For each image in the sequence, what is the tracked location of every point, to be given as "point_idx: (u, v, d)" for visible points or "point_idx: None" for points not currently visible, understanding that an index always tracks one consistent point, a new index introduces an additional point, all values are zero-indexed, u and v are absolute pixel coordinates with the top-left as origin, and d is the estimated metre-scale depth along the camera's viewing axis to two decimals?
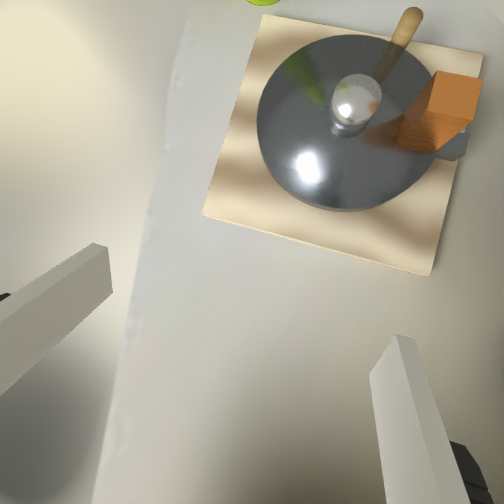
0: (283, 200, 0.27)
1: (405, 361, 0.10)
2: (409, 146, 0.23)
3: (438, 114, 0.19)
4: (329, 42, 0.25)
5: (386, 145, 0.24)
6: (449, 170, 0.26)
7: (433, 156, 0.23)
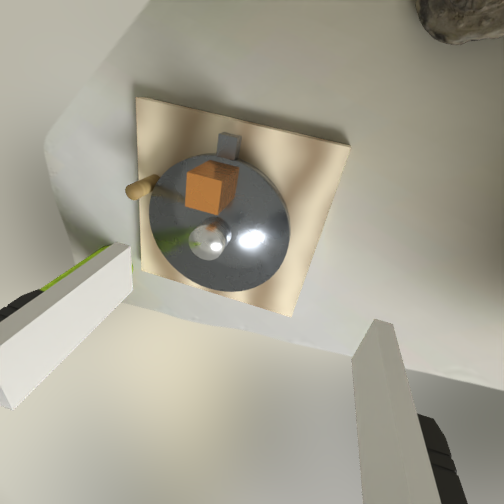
0: None
1: (381, 342, 0.11)
2: (234, 189, 0.27)
3: (219, 205, 0.23)
4: (159, 241, 0.33)
5: (235, 204, 0.28)
6: (247, 129, 0.27)
7: (241, 166, 0.26)
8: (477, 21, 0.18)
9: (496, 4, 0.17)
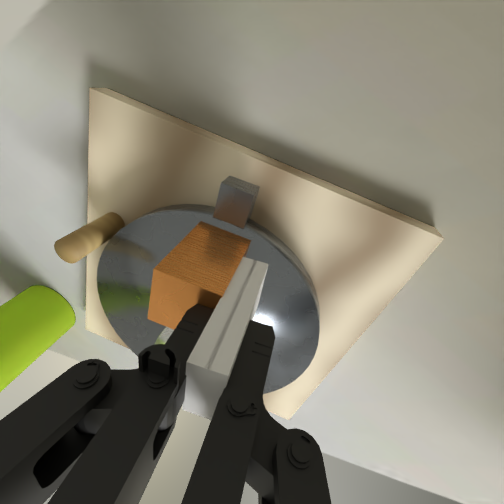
0: None
1: (249, 274, 0.13)
2: None
3: None
4: (113, 318, 0.22)
5: None
6: (277, 177, 0.16)
7: (255, 238, 0.15)
8: None
9: None
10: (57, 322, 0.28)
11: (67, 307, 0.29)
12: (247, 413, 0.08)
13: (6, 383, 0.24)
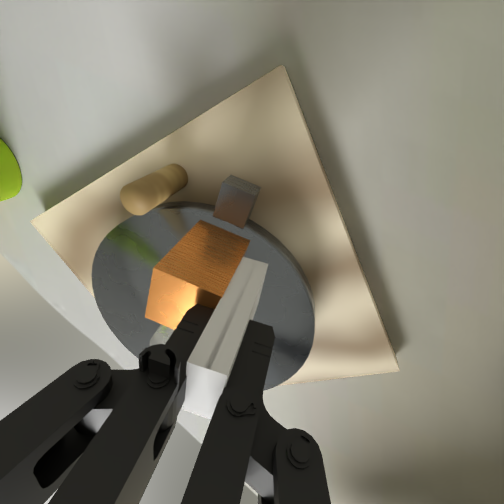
0: None
1: (249, 274, 0.13)
2: None
3: None
4: (107, 314, 0.21)
5: None
6: (350, 268, 0.18)
7: (254, 239, 0.15)
8: None
9: None
10: None
11: (17, 181, 0.22)
12: (247, 413, 0.08)
13: None
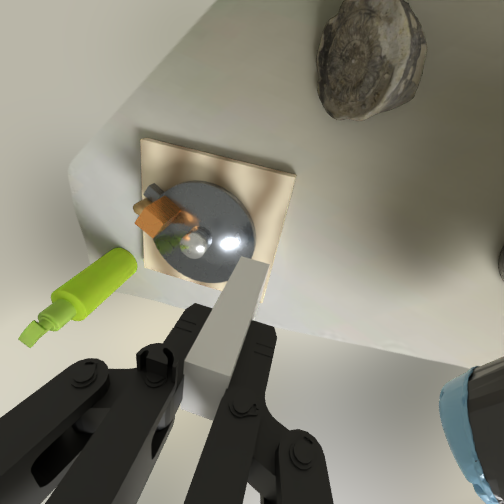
0: None
1: (250, 275, 0.13)
2: (174, 206, 0.39)
3: (159, 219, 0.35)
4: (194, 277, 0.45)
5: (186, 212, 0.39)
6: (222, 163, 0.38)
7: (164, 193, 0.39)
8: (348, 109, 0.29)
9: (354, 102, 0.28)
10: (129, 265, 0.50)
11: (132, 257, 0.51)
12: (249, 414, 0.08)
13: (110, 292, 0.46)
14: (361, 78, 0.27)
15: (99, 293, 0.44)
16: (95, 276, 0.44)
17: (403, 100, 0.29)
